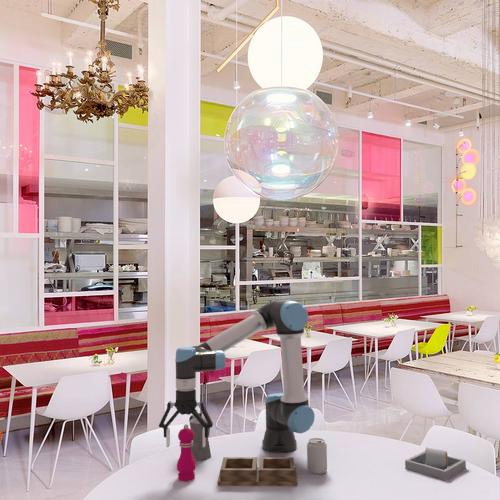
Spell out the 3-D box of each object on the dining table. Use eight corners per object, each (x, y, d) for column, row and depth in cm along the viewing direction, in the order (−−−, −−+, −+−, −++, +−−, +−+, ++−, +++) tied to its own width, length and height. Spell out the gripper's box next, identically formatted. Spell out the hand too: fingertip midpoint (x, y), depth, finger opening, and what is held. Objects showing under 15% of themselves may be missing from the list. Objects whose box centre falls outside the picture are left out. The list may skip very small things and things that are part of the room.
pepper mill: (192, 482, 193) (192, 427, 194) (174, 481, 194) (173, 426, 195) (198, 475, 200) (198, 422, 201) (180, 474, 201) (180, 421, 202)
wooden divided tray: (296, 471, 202) (295, 456, 203) (297, 486, 188) (297, 470, 189) (221, 471, 204) (221, 456, 204) (217, 486, 190) (217, 470, 190)
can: (323, 476, 197) (323, 444, 198) (304, 473, 200) (304, 441, 201) (329, 469, 204) (328, 438, 204) (311, 466, 207) (310, 435, 208)
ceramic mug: (448, 473, 198) (447, 452, 199) (425, 471, 201) (425, 450, 201) (446, 464, 209) (445, 444, 209) (424, 462, 211) (424, 442, 211)
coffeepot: (218, 458, 217) (217, 414, 218) (198, 463, 212) (197, 418, 213) (199, 448, 230) (199, 407, 231) (180, 453, 225) (180, 410, 225)
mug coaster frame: (426, 457, 215) (426, 450, 215) (465, 468, 203) (465, 460, 203) (405, 468, 204) (405, 460, 204) (445, 480, 192) (445, 471, 192)
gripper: (150, 391, 195) (150, 449, 194) (217, 391, 194) (218, 449, 193) (155, 386, 203) (155, 442, 202) (219, 386, 202) (220, 442, 201)
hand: (186, 446), depth 197 cm, fingers open, 13 cm apart
